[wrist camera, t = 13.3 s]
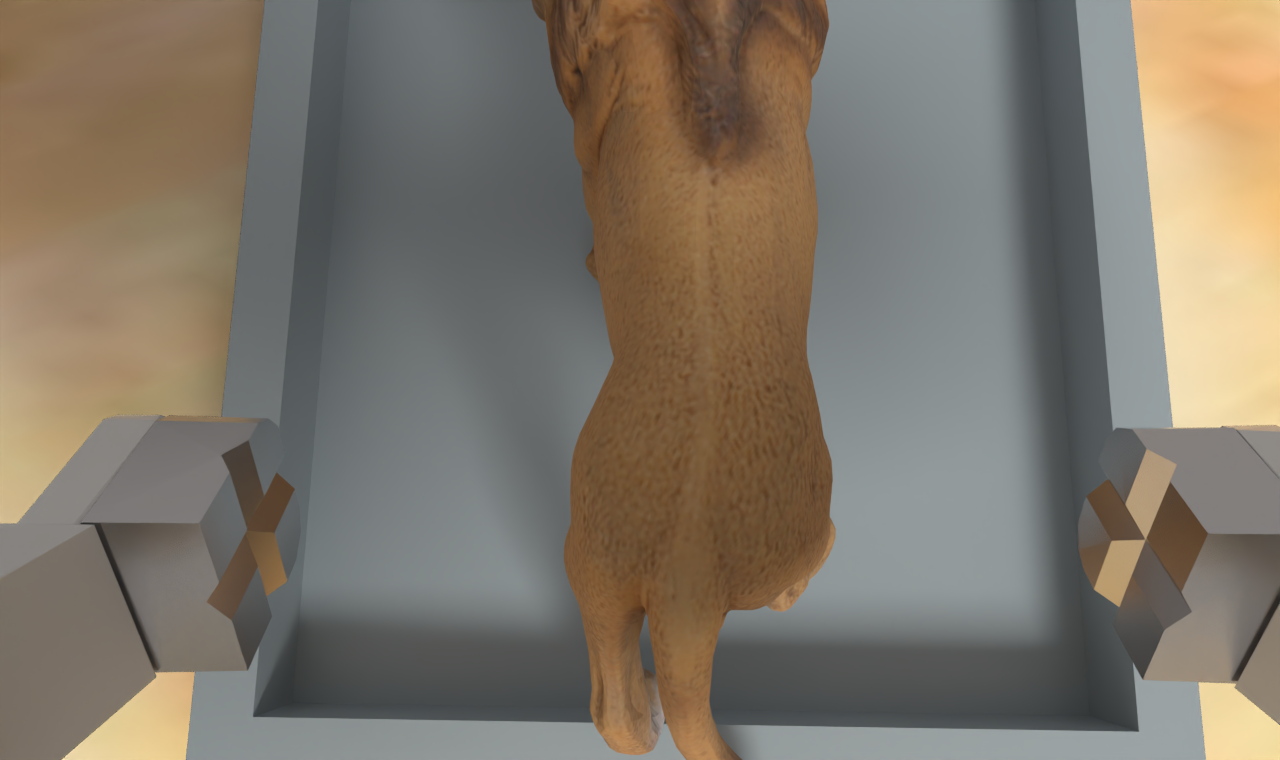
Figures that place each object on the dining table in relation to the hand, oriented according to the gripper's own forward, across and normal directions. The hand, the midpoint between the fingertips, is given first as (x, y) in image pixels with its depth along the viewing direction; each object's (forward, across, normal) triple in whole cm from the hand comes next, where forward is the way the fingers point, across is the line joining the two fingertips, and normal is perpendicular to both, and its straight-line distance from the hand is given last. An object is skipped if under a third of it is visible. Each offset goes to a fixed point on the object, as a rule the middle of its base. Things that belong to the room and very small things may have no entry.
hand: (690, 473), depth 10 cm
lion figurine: (+7, 0, +4) cm, 8 cm away
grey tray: (+10, 0, +3) cm, 10 cm away
